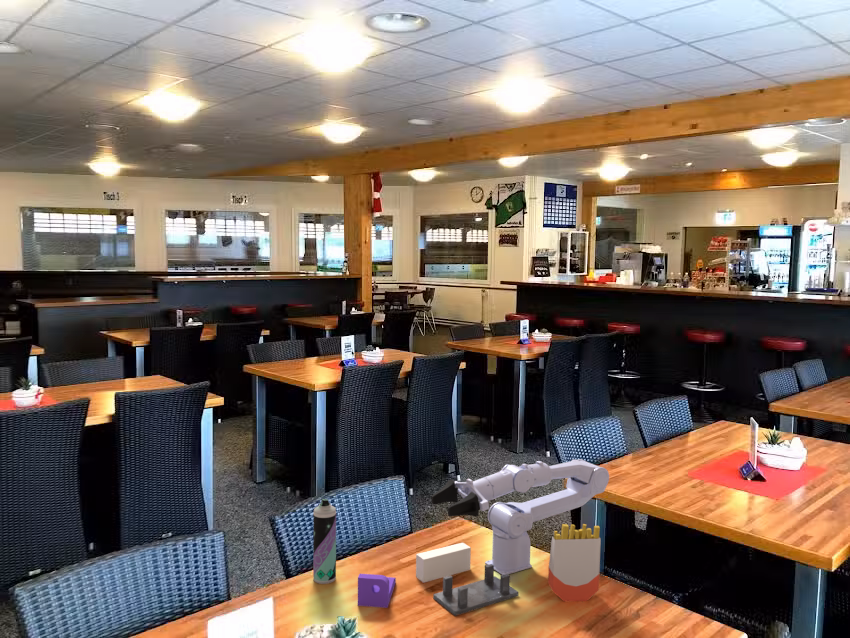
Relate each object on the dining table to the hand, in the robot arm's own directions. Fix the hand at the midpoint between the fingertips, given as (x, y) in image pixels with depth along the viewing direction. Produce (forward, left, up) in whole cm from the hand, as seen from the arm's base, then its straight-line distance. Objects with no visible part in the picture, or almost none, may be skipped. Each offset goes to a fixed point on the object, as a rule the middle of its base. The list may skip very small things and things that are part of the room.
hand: (440, 506), depth 161 cm
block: (-4, -4, -20) cm, 20 cm away
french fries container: (-24, +21, -20) cm, 37 cm away
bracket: (+15, -3, -20) cm, 25 cm away
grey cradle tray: (-4, +10, -19) cm, 22 cm away
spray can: (+23, -16, -20) cm, 34 cm away
